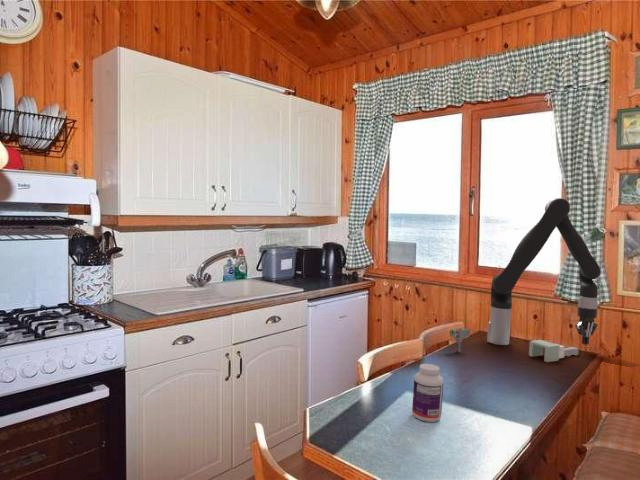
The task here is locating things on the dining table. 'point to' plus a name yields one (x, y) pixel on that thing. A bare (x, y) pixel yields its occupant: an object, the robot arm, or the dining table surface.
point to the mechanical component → (459, 336)
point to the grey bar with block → (567, 351)
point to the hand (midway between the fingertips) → (585, 344)
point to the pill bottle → (427, 393)
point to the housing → (550, 350)
